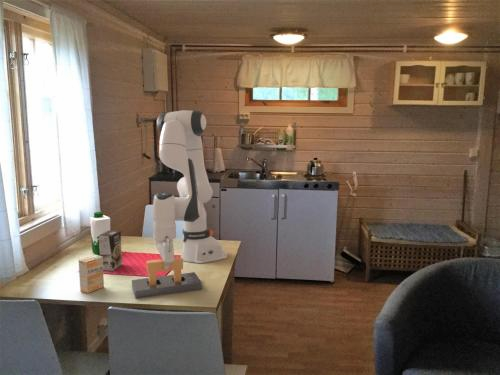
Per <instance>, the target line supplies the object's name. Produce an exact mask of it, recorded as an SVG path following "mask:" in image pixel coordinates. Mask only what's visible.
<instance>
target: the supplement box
mask: <svg viewBox="0 0 500 375" xmlns="http://www.w3.org/2000/svg"><path fill="white" fill-rule="evenodd" d="M78 272H79V290H80V292H81V293H85V294H88V295H89V294H90V293H92V292H95V291H97V290H100V289H103V288H105V281H104V270H103V257H102V256H100V255H99V256H98V255H96V254H93V255H91V256H87V257H84V258H81V259H78Z"/></svg>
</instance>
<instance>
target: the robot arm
mask: <svg viewBox="0 0 500 375" xmlns="http://www.w3.org/2000/svg"><path fill="white" fill-rule="evenodd" d="M206 127H207V119H206V115H205V114H204V113H203V111H201V110H195V109H194V110H182V109H181V110H176V111H170V112H167V111H166V112H162V113H160V114H159V116H158V117H157V119H156V129H157V132H158V133H159V134H160V136H159V145H158V158H159V159H160V161H161V163H162V164H163V165H165V166H166V167H168V168H170V169H172V170H175V171H177V172H180V173H181V174H183V177H181V178H180V179H179V180H178V181H177V184H176V189H177V192H178V194H179V196H178V197H177V196H174V193H172V192H171V191H160V192H156V194H154V197H153V200H152V202H153V203H152V218H153V225H152V237H153V240H155V246H156V250H157V252H158V253H159V255H160V257H161V258H160V259H163V261H164V269H165V270H166V269H169V263H173V262H174V258H175V249H174V243H173V242H174V240H175V239H176V238H177V223H176V222H177V221H179V222H182V223H183V224H182V227H183V229H182V236H181V237H182V238H181V239H182V250H181V254H180V257H182V259H183V262H184V261H185V262H188V263H189V262H190V263H195V264H204V263H211V262H215V261H221V260H225V259H227V258H228V253H227V252H226V251H225V250H223V244H222V243H221V242H220V241H219V240H218V239H216V238H214V237H213V235H214V231H213V230H211V229H210V228H208V227H207V211H206V209H205V205H204V204H206V203H207V202H209V201H210V200H212V197H213V195H214V194H213V193H214V189H213V187H212V186H211V183H210V182H209V177H208V174H207V170H206V167H205V166H206V165H205V162H204V160H205V159H204V158H205V157H204V148H203V141H202V136H201V135H202V134H203V133H204V132H205V131H206V129H207V128H206Z"/></svg>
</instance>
